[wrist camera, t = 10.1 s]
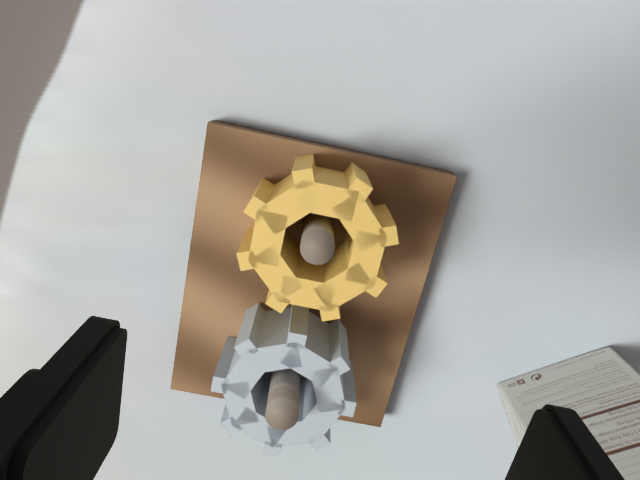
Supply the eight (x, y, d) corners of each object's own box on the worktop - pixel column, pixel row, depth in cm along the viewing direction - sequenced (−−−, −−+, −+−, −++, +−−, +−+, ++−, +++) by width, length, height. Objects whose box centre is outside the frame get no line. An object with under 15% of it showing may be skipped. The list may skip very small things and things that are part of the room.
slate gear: (214, 310, 28) (197, 347, 24) (338, 289, 28) (341, 323, 24) (243, 414, 30) (231, 463, 27) (358, 396, 30) (364, 443, 26)
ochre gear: (263, 142, 25) (252, 155, 21) (400, 172, 26) (413, 189, 22) (240, 271, 27) (227, 303, 24) (367, 296, 28) (374, 331, 24)
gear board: (212, 120, 26) (177, 135, 20) (451, 172, 27) (491, 202, 20) (176, 377, 31) (138, 455, 25) (378, 414, 32) (392, 499, 25)
